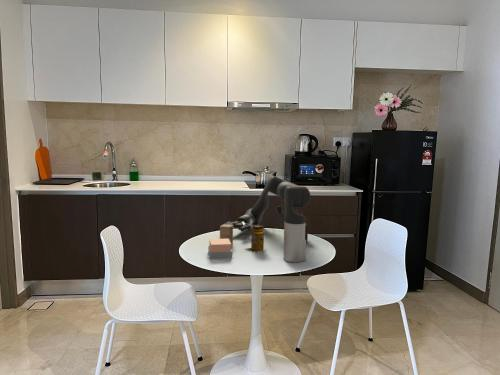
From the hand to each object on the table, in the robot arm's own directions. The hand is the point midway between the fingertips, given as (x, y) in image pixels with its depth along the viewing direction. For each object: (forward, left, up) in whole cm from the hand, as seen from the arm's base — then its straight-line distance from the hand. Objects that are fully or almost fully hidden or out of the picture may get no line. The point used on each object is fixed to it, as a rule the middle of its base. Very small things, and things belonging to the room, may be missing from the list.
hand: (233, 228), depth 201 cm
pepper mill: (-30, +5, -6) cm, 31 cm away
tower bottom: (+10, +24, -7) cm, 27 cm away
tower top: (+10, +24, -3) cm, 26 cm away
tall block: (+5, +9, -6) cm, 12 cm away
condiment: (-8, +19, -6) cm, 21 cm away
